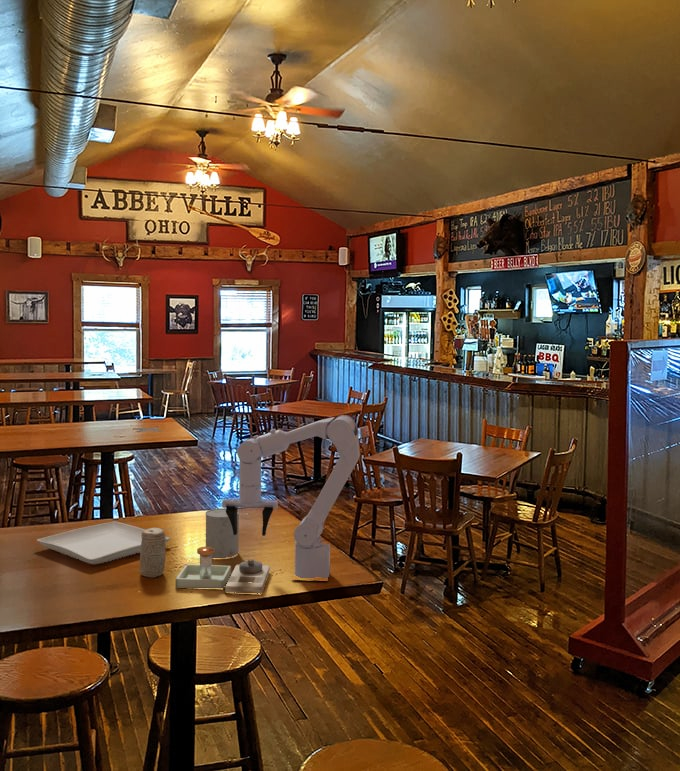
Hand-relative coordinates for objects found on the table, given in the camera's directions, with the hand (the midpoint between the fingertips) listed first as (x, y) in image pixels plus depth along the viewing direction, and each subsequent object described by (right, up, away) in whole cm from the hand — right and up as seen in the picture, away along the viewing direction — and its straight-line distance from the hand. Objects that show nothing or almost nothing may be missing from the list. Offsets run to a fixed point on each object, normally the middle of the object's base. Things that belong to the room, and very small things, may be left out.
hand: (249, 534), depth 196 cm
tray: (-11, -11, -7) cm, 17 cm away
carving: (-25, -10, -2) cm, 27 cm away
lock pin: (-10, -10, -7) cm, 16 cm away
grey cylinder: (-10, -9, +15) cm, 20 cm away
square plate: (-45, -8, +18) cm, 49 cm away
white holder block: (+1, -11, -7) cm, 13 cm away
